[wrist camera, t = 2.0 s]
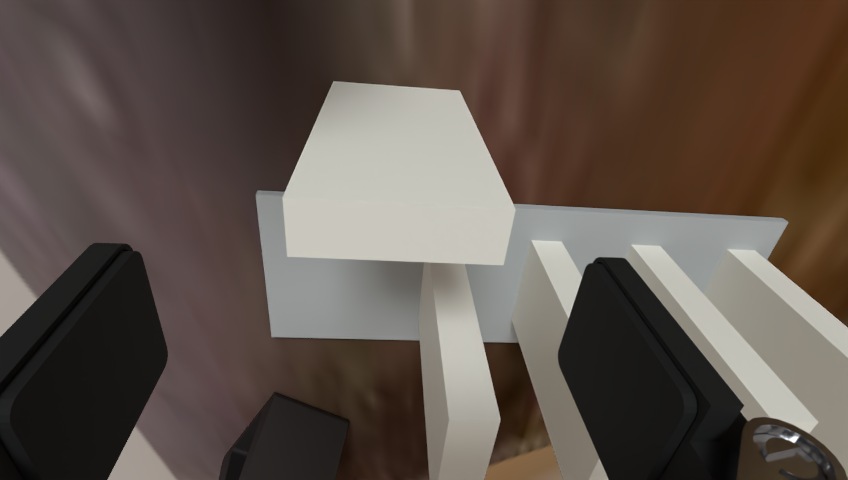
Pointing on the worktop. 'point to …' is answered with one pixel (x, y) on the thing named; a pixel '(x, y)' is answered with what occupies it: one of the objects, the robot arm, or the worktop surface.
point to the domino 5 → (789, 339)
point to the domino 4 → (719, 340)
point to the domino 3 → (553, 354)
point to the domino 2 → (454, 377)
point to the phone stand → (287, 444)
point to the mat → (482, 267)
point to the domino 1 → (397, 181)
